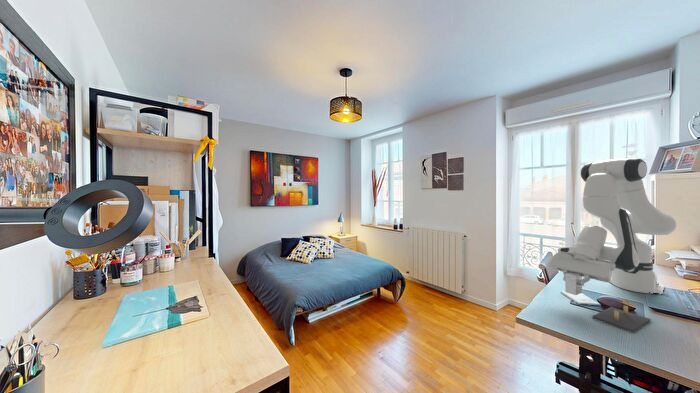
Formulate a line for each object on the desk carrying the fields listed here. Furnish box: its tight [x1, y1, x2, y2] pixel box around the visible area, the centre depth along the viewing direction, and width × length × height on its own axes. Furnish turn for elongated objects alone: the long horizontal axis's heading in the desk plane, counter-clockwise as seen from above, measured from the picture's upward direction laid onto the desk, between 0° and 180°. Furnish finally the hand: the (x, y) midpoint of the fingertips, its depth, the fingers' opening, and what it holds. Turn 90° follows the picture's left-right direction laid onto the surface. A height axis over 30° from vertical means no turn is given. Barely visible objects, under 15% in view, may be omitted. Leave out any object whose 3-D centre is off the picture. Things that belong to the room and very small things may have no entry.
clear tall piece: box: [564, 272, 583, 295], centre depth 106 cm, size 5×4×8 cm
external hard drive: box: [560, 290, 601, 306], centre depth 114 cm, size 2×8×12 cm
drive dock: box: [592, 305, 652, 334], centre depth 96 cm, size 16×11×4 cm
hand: (572, 282), depth 105 cm, fingers closed on clear tall piece, 4 cm apart
